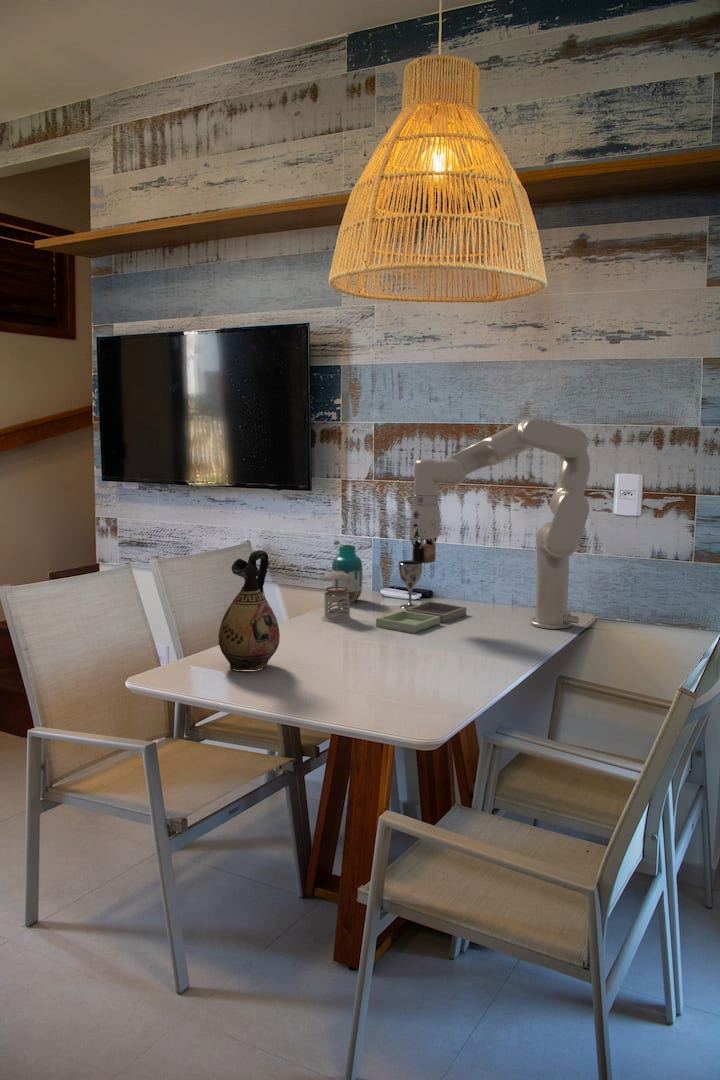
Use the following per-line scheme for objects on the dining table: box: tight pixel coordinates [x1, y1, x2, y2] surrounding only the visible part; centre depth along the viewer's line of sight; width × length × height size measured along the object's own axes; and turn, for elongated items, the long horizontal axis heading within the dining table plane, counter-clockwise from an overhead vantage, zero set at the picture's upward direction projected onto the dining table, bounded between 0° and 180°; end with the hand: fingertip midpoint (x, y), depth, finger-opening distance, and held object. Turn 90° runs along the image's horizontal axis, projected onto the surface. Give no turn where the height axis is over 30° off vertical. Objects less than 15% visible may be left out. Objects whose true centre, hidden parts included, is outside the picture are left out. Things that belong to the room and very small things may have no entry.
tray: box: [375, 609, 441, 635], centre depth 265 cm, size 14×14×2 cm
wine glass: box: [398, 559, 423, 610], centre depth 290 cm, size 8×8×15 cm
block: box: [411, 543, 437, 564], centre depth 263 cm, size 5×5×5 cm
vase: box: [331, 544, 364, 602], centre depth 298 cm, size 11×11×19 cm
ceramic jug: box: [218, 549, 281, 670], centre depth 221 cm, size 17×15×30 cm
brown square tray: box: [405, 601, 467, 624], centre depth 278 cm, size 14×14×2 cm
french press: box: [321, 540, 358, 624], centre depth 272 cm, size 10×12×25 cm
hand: (423, 559), depth 264 cm, fingers closed on block, 5 cm apart
